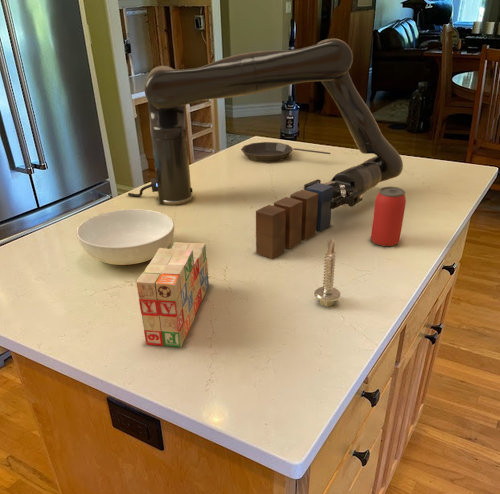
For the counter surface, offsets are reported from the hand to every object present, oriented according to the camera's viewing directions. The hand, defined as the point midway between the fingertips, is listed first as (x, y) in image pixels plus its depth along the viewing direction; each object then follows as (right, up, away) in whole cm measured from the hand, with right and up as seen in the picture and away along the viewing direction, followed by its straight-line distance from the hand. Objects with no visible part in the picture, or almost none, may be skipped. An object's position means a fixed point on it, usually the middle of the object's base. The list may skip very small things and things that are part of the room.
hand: (316, 200), depth 122 cm
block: (+1, -5, +5) cm, 7 cm away
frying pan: (-4, +28, +53) cm, 60 cm away
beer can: (+15, -10, -3) cm, 19 cm away
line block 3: (-3, -8, +1) cm, 9 cm away
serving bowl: (-43, -14, -7) cm, 45 cm away
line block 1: (-11, -13, -7) cm, 19 cm away
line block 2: (-7, -11, -3) cm, 13 cm away
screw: (-1, -26, -25) cm, 36 cm away
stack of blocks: (-29, -28, -27) cm, 48 cm away
